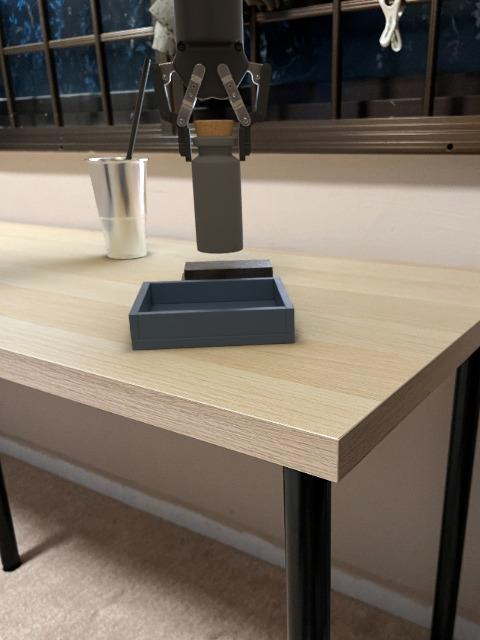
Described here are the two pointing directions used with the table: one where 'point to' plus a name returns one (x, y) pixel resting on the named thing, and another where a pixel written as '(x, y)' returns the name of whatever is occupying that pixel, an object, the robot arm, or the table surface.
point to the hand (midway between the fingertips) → (215, 160)
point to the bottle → (217, 188)
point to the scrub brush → (228, 269)
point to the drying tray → (211, 313)
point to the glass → (123, 193)
